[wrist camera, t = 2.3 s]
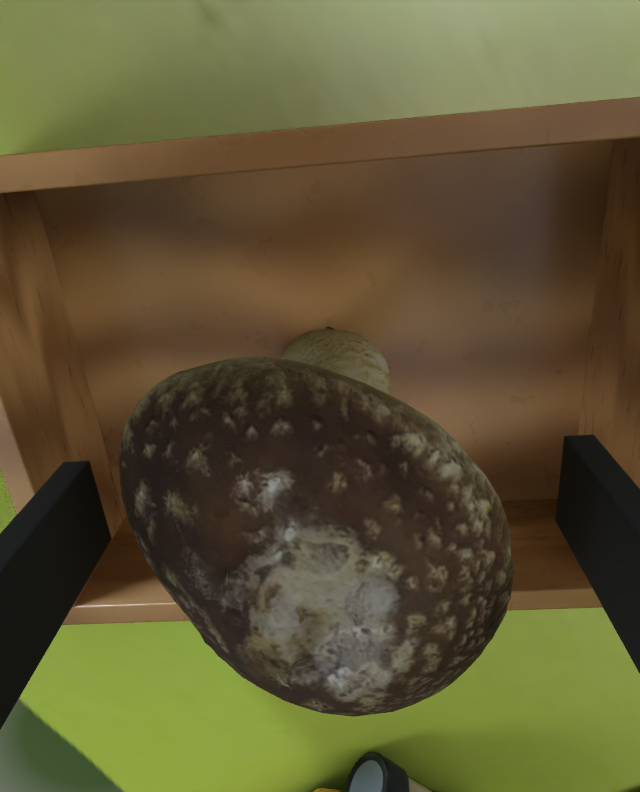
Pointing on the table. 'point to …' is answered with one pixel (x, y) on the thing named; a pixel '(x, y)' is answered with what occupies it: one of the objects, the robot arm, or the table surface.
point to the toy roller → (378, 777)
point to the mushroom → (317, 525)
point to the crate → (334, 299)
